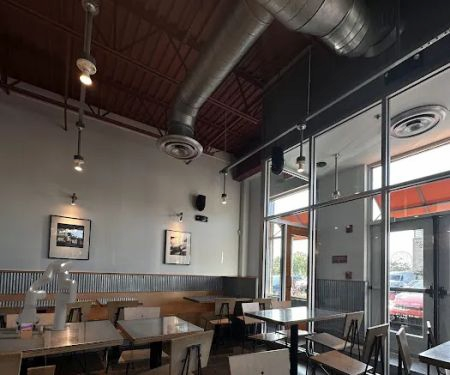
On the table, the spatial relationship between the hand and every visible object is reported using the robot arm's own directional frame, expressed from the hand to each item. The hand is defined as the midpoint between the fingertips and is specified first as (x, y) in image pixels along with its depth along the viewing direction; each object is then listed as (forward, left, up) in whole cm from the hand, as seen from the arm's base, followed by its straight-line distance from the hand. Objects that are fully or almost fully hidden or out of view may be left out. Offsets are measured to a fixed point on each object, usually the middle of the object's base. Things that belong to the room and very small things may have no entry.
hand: (26, 330), depth 265 cm
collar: (0, 0, -5) cm, 5 cm away
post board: (-4, -5, -6) cm, 9 cm away
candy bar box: (+3, -23, -7) cm, 25 cm away
